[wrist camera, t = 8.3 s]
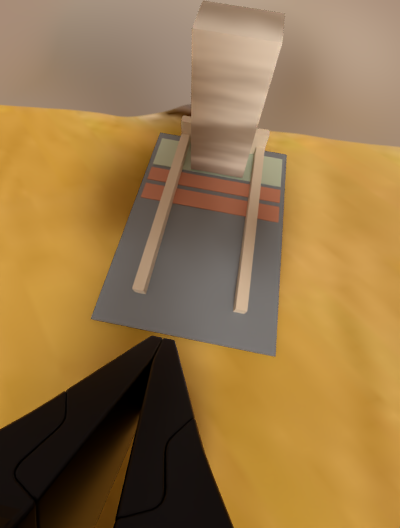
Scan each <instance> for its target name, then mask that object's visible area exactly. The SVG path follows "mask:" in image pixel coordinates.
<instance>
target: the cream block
mask: <svg viewBox="0 0 400 528" xmlns="http://www.w3.org/2000/svg"><path fill="white" fill-rule="evenodd" d="M284 18H285V13H280V12H273V11H267V10H260V9H254V8H248V7H241V6H234V5H228V4H222V3H215V2H209V1H203V2H202V5H201V7H200V9H199V12H198V14H197V17H196V20H195V22H194V24H193V27H192V84H191V88H192V89H191V90H192V93H191V169H194V170H200V171H206V172H211V173H217V174H222V175H228V176H233V177H239V178H242V177H243V174H244V171H245V167H246V164H247V160H248V157H249V154H250V150H251V147H252V144H253V140H254V137H255V133H256V130H257V127H258V123H259V120H260V116H261V113H262V110H263V106H264V103H265V100H266V96H267V92H268V89H269V86H270V83H271V79H272V76H273V72H274V69H275V65H276V62H277V59H278V56H279V52H280V49H281V45H282V41H283V29H284Z"/></svg>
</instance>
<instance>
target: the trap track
mask: <svg viewBox="0 0 400 528" xmlns="http://www.w3.org/2000/svg"><path fill="white" fill-rule="evenodd" d="M181 129H182V134H181V136H177V135H171V134H165V133H160V135H159V138H158V140H157V143H156V146H155V148H154V151H153V154H152V156H151V159H150V162H149V164H148V167H147V170H146V172H145V175H144V178H143V180H142V183H141V186H140V188H139V191H138V194H137V196H136V199H135V202H134V204H133V207H132V210H131V213H130V215H129V218H128V221H127V223H126V226H125V229H124V231H123V234H122V237H121V239H120V242H119V245H118V247H117V250H116V253H115V255H114V258H113V261H112V263H111V266H110V269H109V271H108V274H107V277H106V279H105V282H104V285H103V287H102V290H101V293H100V295H99V298H98V301H97V303H96V306H95V309H94V311H93V314H92V317H91V319H93V320H98V321H103V322H108V323H113V324H118V325H123V326H128V327H133V328H137V329H142V330H147V331H152V332H157V333H162V334H167V335H172V336H177V337H182V338H186V339H191V340H196V341H201V342H206V343H211V344H216V345H221V346H226V347H231V348H235V349H240V350H245V351H250V352H255V353H260V354H265V355H270V356H276V338H277V319H278V301H279V283H280V265H281V246H282V228H283V210H284V192H285V174H286V155H285V154H279V153H274V152H268V151H265V146H266V144H267V141H268V138H269V132H270V130H265V129H259V128H257V130H256V133H255V137H254V140H253V144H252V147H251V150H250V154H249V157H248V160H247V164H246V167H245V171H244V174H243V177H242V178H239V177H233V176H228V175H222V174H217V173H211V172H206V171H200V170H194V169H191V117H189V116H184V115H183V117H182V120H181Z"/></svg>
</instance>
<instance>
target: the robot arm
mask: <svg viewBox="0 0 400 528" xmlns="http://www.w3.org/2000/svg"><path fill="white" fill-rule="evenodd" d="M194 418H195V417H194V413H193V409H192V405H191V401H190V397H189V393H188V390H187V386H186V382H185V378H184V374H183V370H182V367H181V363H180V359H179V355H178V351H177V347H176V344H175V341H174V340H171V339H166V338H164V339H162V338H161V337H156V336H150V337H149V338H147V339H145V340H144V341H142V342H141V343H139V344H138V345H136V346H134V347H133V348H131V349H130V350H128V351H127V352H125V353H123V354H122V355H120V356H119V357H117V358H116V359H114V360H113V361H111V362H109V363H108V364H106V365H105V366H103V367H102V368H100V369H98V370H97V371H95V372H94V373H92V374H91V375H89V376H87V377H86V378H84V379H83V380H81V381H80V382H78V383H77V384H75V385H73V386H72V387H70V388H69V389H67V391H66V392H65V391H64V392H62V393H61V394H59V395H58V396H56V397H54V398H53V399H51V400H50V401H48V402H46V403H45V404H43V405H41V406H40V407H38V408H37V409H35V410H33V411H32V412H30V413H28V414H27V415H25V416H23V417H21V418H19V419H18V420H16V421H14V422H12V423H11V424H9V425H7V426H5V427H3V428H2V429H0V528H95V525H96V523H97V521H98V518H99V516H100V514H101V511H102V509H103V506H104V504H105V502H106V499H107V497H108V495H109V492H110V490H111V488H112V485H113V483H114V481H115V478H116V476H117V474H118V471H119V469H120V467H121V464H122V462H123V460H124V457H125V455H126V453H127V450H128V448H129V446H130V443H131V441H132V439H133V436H134V434H135V437H134V441H133V446H132V450H131V454H130V458H129V463H128V467H127V471H126V476H125V480H124V484H123V488H122V493H121V497H120V501H119V506H118V510H117V514H116V519H115V524H114V527H113V528H234V527H233V524H232V522H231V519H230V517H229V514H228V512H227V509H226V507H225V504H224V502H223V499H222V497H221V494H220V492H219V489H218V487H217V484H216V481H215V479H214V476H213V474H212V471H211V468H210V465H209V463H208V460H207V457H206V454H205V451H204V448H203V445H202V441H201V438H200V435H199V431H198V427H197V424H196V420H195V419H194ZM135 432H136V433H135Z"/></svg>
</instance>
